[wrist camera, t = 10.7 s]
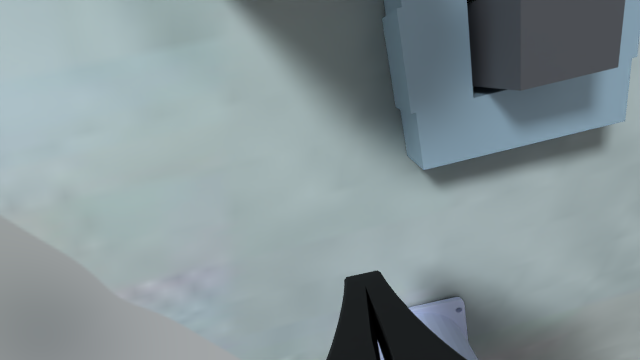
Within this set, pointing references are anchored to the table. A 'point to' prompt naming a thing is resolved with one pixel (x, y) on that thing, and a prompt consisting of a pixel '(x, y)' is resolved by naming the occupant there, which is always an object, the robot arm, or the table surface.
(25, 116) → the table surface
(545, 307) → the table surface
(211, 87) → the table surface
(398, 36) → the socket plate
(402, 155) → the table surface
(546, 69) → the plug
